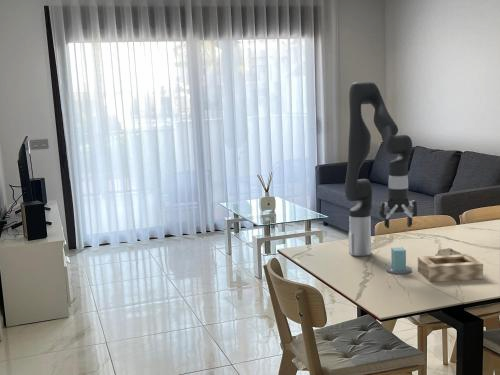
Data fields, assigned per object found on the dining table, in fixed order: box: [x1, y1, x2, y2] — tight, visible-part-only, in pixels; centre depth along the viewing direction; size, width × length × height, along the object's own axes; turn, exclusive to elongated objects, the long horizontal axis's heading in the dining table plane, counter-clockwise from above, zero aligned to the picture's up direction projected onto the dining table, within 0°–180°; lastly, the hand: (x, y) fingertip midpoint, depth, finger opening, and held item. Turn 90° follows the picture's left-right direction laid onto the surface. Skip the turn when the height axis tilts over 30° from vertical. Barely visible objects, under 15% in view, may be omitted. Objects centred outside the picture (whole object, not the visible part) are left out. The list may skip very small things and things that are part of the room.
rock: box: [434, 247, 462, 256], centre depth 245 cm, size 11×11×4 cm
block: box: [390, 247, 407, 271], centre depth 233 cm, size 4×4×8 cm
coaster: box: [385, 265, 413, 275], centre depth 233 cm, size 10×10×1 cm
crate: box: [417, 253, 484, 283], centre depth 225 cm, size 20×14×6 cm
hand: (398, 227), depth 231 cm, fingers open, 8 cm apart
